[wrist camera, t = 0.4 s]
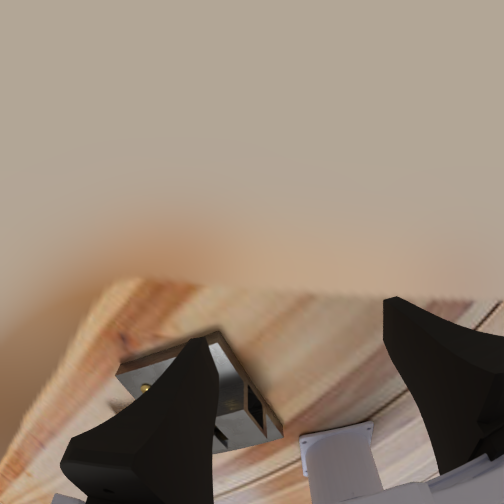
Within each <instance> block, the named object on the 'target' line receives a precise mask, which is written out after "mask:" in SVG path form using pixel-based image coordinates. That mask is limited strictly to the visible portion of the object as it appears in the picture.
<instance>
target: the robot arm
mask: <svg viewBox="0 0 504 504" xmlns="http://www.w3.org/2000/svg"><path fill="white" fill-rule="evenodd" d="M383 341H384V344H385V346H386V349H387V351H388V353H389V356H390V358H391V360H392V362H393V363H394V365H395V367H396V369H397V370H398V372H399V374H400V375H401V377H402V379H403V380H404V382H405V384H406V386H407V387H408V389H409V391H410V392H411V394H412V396H413V398H414V400H415V402H416V404H417V406H418V408H419V411H420V413H421V416H422V418H423V421H424V423H425V426H426V429H427V432H428V435H429V437H430V440H431V444H432V447H433V450H434V454H435V457H436V461H437V465H438V469H439V473H440V476H438V477H436V478H434V479H431V480H429V481H427V482H410V483H406V484H403V485H399V486H395V487H392V488H389V489H386V490H383V486H382V483H381V480H380V477H379V474H378V471H377V467H376V464H375V461H374V458H373V455H372V452H371V449H370V443H371V438H372V432H373V426H374V424H373V422H372V421H368V422H364V423H360V424H356V425H352V426H347V427H343V428H338V429H334V430H329V431H324V432H318V433H313V434H307V435H302V436H300V437H299V442H300V450H301V458H302V467H303V475H304V476H308V479H309V486H310V492H311V499H312V504H504V336H498V335H492V334H488V333H483V332H479V331H475V330H472V329H469V328H466V327H463V326H460V325H457V324H454V323H452V322H450V321H447V320H445V319H442V318H440V317H438V316H436V315H434V314H432V313H430V312H428V311H426V310H424V309H422V308H420V307H418V306H416V305H414V304H412V303H410V302H408V301H406V300H404V299H402V298H400V297H397V296H396V297H392V298H388V299H385V300H383ZM218 400H219V373H218V370H217V367H216V365H215V362H214V359H213V357H212V354H211V351H210V349H209V346H208V343H207V340H206V337H200V338H193V339H190V340H189V342H188V343H187V344H186V345H185V347H184V348H183V349H182V350H181V352H180V353H179V354H178V356H177V357H176V358H175V359H174V360H173V362H172V363H171V364H170V365H169V367H168V368H167V369H166V370H165V371H164V372H163V374H162V375H161V376H160V377H159V378H158V379H157V380H156V381H155V382H154V383H153V385H152V386H151V387H150V388H149V389H148V390H146V391H145V392H144V393H143V394H142V395H141V396H140V397H139V398H138V399H136V400H135V401H134V402H133V403H132V404H130V405H129V406H127V407H126V408H125V409H123V410H122V411H121V412H119V413H118V414H117V415H115V416H114V417H112V418H110V419H109V420H107V421H105V422H104V423H102V424H100V425H98V426H97V427H95V428H93V429H91V430H88V431H86V432H84V433H82V434H80V435H77V436H75V437H73V438H71V440H70V442H69V444H68V446H67V449H66V451H65V453H64V455H63V458H62V460H61V462H60V468H61V470H62V472H63V473H64V475H65V476H66V477H67V478H68V479H69V480H70V481H71V482H72V483H73V484H74V485H76V486H77V487H78V488H79V489H80V490H81V491H82V492H84V493H85V494H86V495H87V496H88V497H87V500H86V503H85V502H84V501H82V500H80V499H77V498H73V497H69V496H65V495H62V494H58V493H56V494H55V495H54V497H53V500H52V503H51V504H214V500H213V479H212V446H213V436H214V429H215V422H216V415H217V407H218Z"/></svg>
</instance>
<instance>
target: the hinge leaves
mask: <svg viewBox="0 0 504 504" xmlns="http://www.w3.org/2000/svg"><path fill="white" fill-rule="evenodd" d="M204 337H206V340H207V343H208V346H209V349H210V351H211V354H212V357H213V359H214V362H215V365H216V367H217V370H218V373H219V400H218V407H217V415H216V422H215V425H216V430H215V431H214V436H213V446H212V454H217V453H222V452H227V451H232V450H237V449H241V448H246V447H250V446H254V445H258V444H262V443H266V442H269V441H273V440H277V439H280V438H284V435H283V426H282V425H281V423H280V422H279V421H278V419H277V418H276V416H275V415H274V413H273V412H272V411H271V409H270V408H269V406H268V405H267V403H266V402H265V400H264V399H263V398H262V396H261V395H260V393H259V392H258V390H257V389H256V387H255V386H254V384H253V383H252V381H251V380H250V378H249V377H248V375H247V374H246V372H245V371H244V369H243V368H242V366H241V365H240V363H239V361H238V360H237V358H236V357H235V355H234V354H233V352H232V351H231V349H230V348H229V346H228V344H227V343H226V341H225V340H224V338H223V336H222V335H221V333H220V332H219V331H218V332H215V333H212V334H210V335H207V336H204ZM187 343H188V342H187ZM187 343H184V344H182V345H179V346H176V347H173V348H170V349H167V350H164V351H161V352H158V353H155V354H152V355H149V356H146V357H143V358H140V359H137V360H134V361H131V362H128V363H125V364H121V365H120V366H119V369H118V371H117V373H116V375H115V376H116V377H117V379H118V380H119V381H120V382H121V383H122V385H123V386H124V387H125V388H126V389H127V390H128V391H129V393H130V394H131V395H132V396H133V397H134V398H135V399H138V398H139V397H140V396H141V395H142V394H143V393H144V392H145V391H146V390H148V389H149V388H150V387H151V386H152V385H153V383H154V382H155V381H156V380H157V379H158V378H159V377H160V376H161V375H162V374H163V372H164V371H165V370H166V369H167V368H168V367H169V365H170V364H171V363H172V362H173V360H174V359H175V358H176V357H177V356H178V354H179V353H180V352H181V350H182V349H183V348H184V347H185V345H186V344H187Z"/></svg>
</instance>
